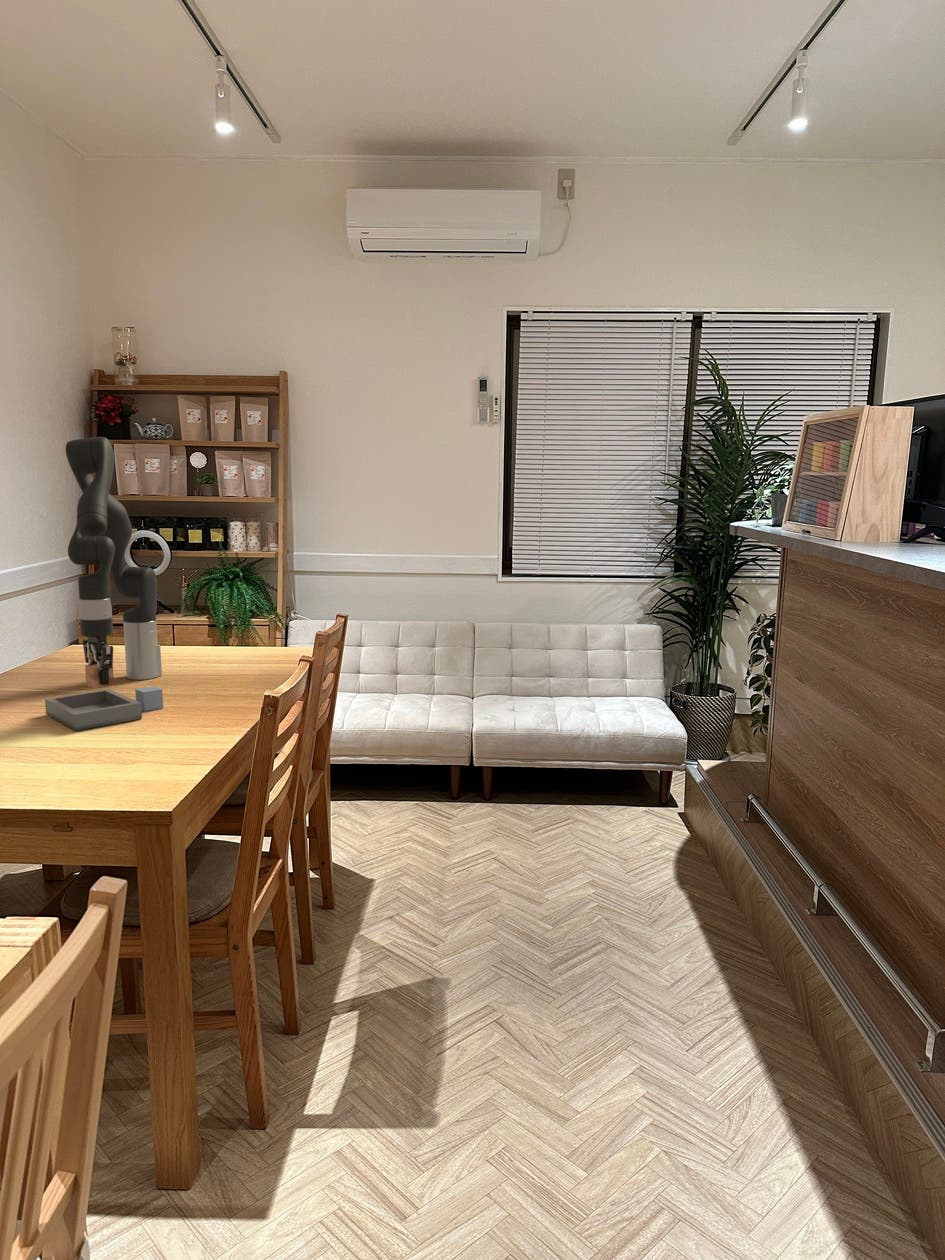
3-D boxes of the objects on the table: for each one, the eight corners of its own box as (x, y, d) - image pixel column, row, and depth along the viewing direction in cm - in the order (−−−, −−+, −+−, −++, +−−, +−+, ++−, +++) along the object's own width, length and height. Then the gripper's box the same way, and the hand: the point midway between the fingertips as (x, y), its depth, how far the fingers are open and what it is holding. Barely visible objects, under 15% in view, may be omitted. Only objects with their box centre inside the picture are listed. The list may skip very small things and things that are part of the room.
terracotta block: (106, 681, 220) (105, 662, 220) (114, 685, 217) (112, 665, 216) (86, 684, 217) (85, 665, 216) (93, 688, 213) (92, 668, 213)
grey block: (154, 704, 227) (153, 686, 226) (163, 707, 224) (162, 689, 223) (136, 707, 224) (135, 689, 223) (144, 711, 220) (143, 692, 219)
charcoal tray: (109, 703, 227) (108, 688, 227) (142, 718, 213) (141, 702, 213) (46, 714, 216) (44, 698, 216) (75, 730, 202) (74, 714, 202)
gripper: (122, 618, 212) (126, 685, 214) (99, 611, 222) (103, 675, 224) (91, 621, 206) (95, 690, 209) (69, 614, 216) (74, 680, 219)
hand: (100, 682), depth 217 cm, fingers closed on terracotta block, 5 cm apart
